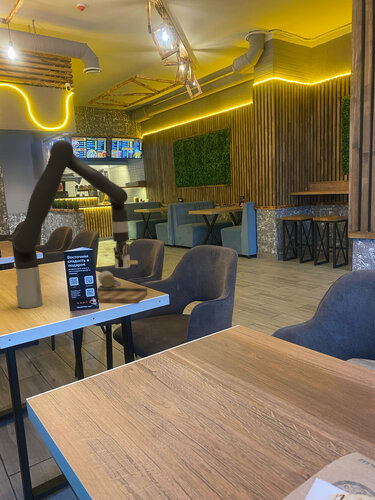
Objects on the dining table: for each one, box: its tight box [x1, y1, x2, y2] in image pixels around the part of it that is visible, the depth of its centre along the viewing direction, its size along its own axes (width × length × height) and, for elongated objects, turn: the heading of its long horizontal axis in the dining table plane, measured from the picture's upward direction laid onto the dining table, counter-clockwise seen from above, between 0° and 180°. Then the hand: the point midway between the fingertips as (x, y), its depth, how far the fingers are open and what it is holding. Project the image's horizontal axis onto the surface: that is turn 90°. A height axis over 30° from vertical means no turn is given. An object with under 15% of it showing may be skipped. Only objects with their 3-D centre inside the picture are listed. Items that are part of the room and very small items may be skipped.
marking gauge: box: [114, 254, 139, 269], centre depth 186 cm, size 4×10×6 cm, turn 77°
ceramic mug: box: [98, 270, 121, 288], centre depth 199 cm, size 11×8×8 cm
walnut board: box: [97, 287, 148, 304], centre depth 174 cm, size 24×14×3 cm, turn 77°
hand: (122, 266), depth 186 cm, fingers closed on marking gauge, 4 cm apart
